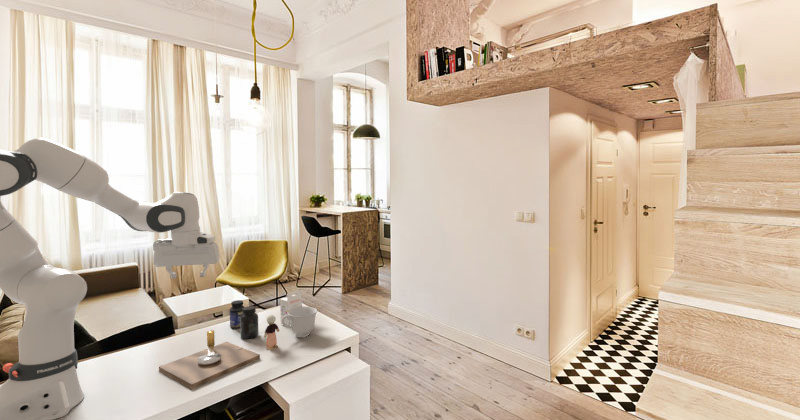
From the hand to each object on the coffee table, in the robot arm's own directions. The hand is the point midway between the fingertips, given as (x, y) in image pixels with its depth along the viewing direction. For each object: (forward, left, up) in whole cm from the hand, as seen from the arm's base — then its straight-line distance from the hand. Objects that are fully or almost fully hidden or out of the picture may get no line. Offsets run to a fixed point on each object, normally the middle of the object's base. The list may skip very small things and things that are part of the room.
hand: (188, 277), depth 131 cm
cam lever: (+2, -8, -27) cm, 28 cm away
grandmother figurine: (+21, -17, -29) cm, 40 cm away
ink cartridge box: (+43, -3, -29) cm, 52 cm away
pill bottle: (+27, +13, -29) cm, 42 cm away
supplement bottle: (+23, -1, -29) cm, 37 cm away
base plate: (+1, -11, -29) cm, 31 cm away
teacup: (+35, -17, -29) cm, 49 cm away
